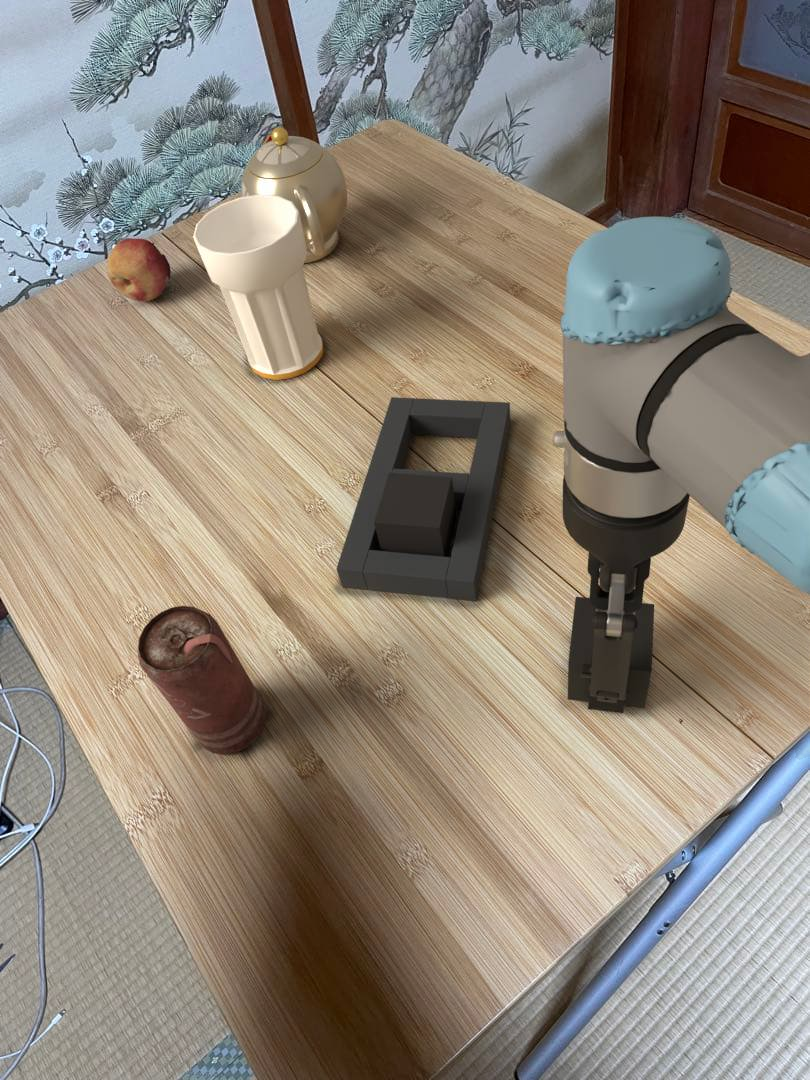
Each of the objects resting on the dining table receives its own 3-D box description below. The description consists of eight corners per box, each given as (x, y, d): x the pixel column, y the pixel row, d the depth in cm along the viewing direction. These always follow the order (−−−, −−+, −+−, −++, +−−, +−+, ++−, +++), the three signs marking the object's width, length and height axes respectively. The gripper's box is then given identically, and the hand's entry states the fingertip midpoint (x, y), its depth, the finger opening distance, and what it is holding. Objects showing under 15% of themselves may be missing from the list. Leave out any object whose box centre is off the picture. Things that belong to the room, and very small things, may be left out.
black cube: (644, 709, 66) (651, 671, 61) (567, 699, 67) (568, 661, 62) (647, 644, 69) (654, 603, 64) (574, 636, 71) (575, 596, 66)
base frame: (510, 423, 88) (509, 402, 86) (476, 601, 75) (473, 582, 72) (395, 417, 91) (391, 396, 88) (342, 587, 78) (336, 568, 75)
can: (270, 751, 68) (216, 667, 57) (194, 761, 69) (127, 679, 58) (271, 686, 72) (222, 595, 61) (200, 696, 72) (138, 607, 62)
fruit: (112, 298, 113) (87, 246, 107) (160, 271, 115) (138, 219, 109) (139, 321, 109) (114, 268, 102) (189, 293, 111) (167, 239, 105)
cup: (237, 337, 104) (190, 208, 90) (325, 316, 104) (292, 184, 90) (244, 396, 96) (195, 265, 83) (339, 373, 97) (305, 238, 83)
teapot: (248, 236, 118) (211, 120, 105) (338, 207, 119) (313, 88, 107) (280, 304, 107) (244, 183, 94) (379, 270, 108) (357, 147, 96)
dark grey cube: (446, 568, 77) (439, 527, 73) (384, 562, 79) (373, 522, 74) (457, 518, 81) (452, 476, 76) (397, 513, 82) (388, 472, 78)
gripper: (576, 370, 56) (572, 572, 74) (545, 600, 45) (549, 773, 63) (693, 373, 55) (660, 580, 72) (690, 614, 43) (652, 788, 61)
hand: (608, 669), depth 68 cm, fingers closed on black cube, 6 cm apart
